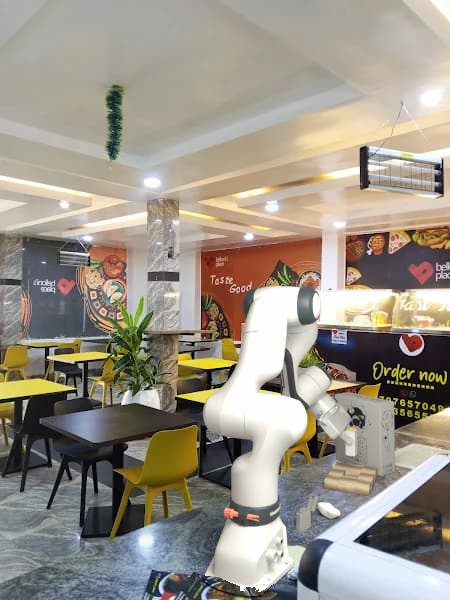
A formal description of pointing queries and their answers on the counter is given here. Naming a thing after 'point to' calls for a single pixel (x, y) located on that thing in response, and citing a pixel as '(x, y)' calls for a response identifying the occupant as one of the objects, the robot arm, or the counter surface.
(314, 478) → the counter surface
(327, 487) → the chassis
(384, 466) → the cereal box
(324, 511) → the dumpling
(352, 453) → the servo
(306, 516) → the lighter
